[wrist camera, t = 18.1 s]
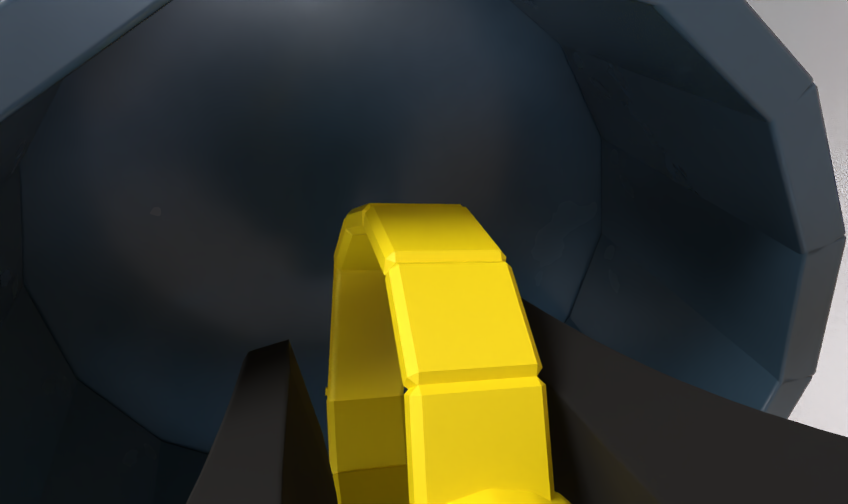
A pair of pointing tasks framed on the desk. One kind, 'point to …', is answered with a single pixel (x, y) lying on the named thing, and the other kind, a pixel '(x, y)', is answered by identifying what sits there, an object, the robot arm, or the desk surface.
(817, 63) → the desk surface
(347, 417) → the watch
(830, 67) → the desk surface
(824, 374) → the desk surface
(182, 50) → the pot
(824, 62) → the desk surface
